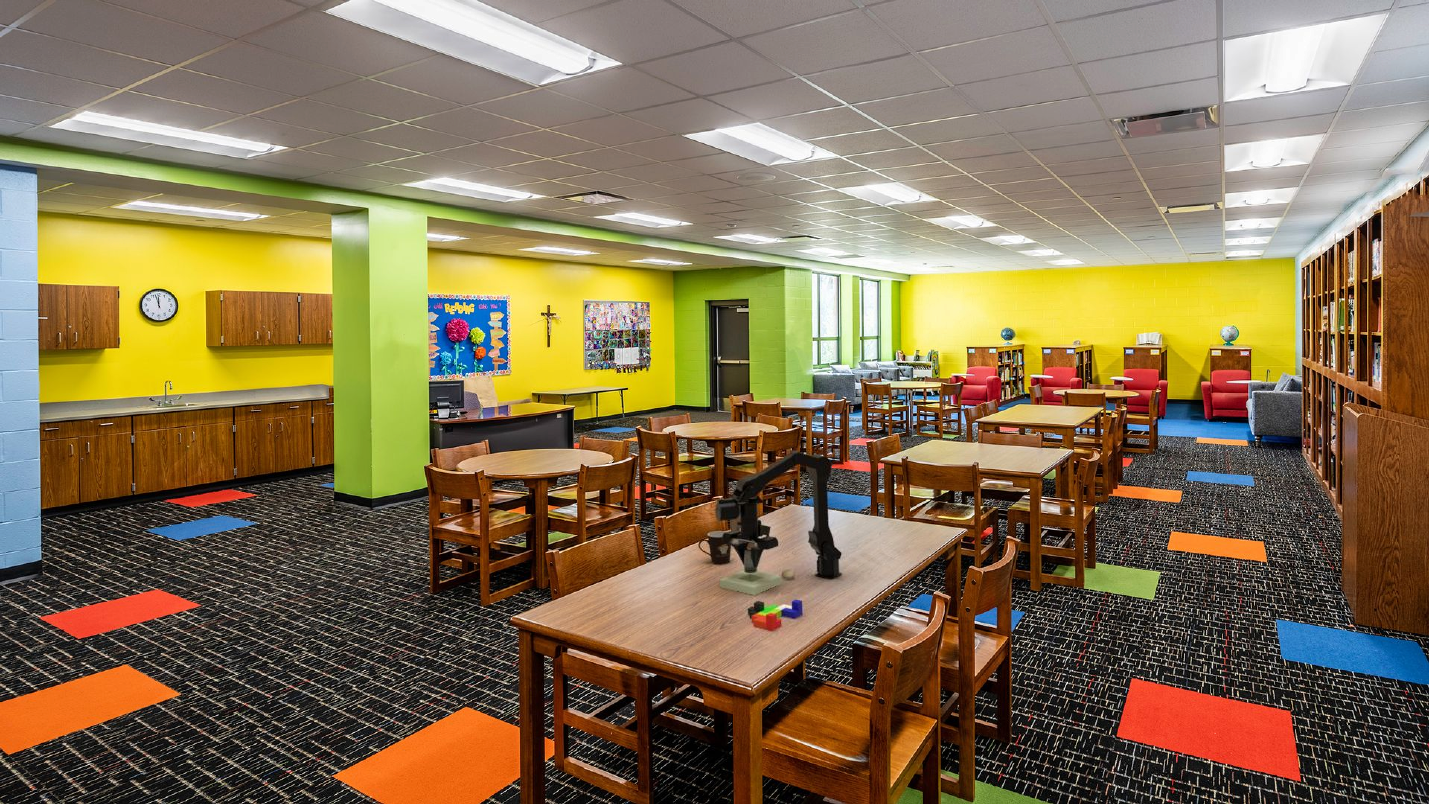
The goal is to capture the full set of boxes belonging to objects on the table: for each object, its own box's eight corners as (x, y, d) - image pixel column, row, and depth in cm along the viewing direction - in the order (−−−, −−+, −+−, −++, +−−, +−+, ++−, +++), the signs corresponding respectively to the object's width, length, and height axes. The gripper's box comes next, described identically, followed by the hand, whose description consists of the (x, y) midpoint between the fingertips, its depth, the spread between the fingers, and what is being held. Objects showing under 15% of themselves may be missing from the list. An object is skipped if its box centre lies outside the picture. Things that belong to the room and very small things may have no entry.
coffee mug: (733, 558, 279) (732, 531, 279) (732, 565, 271) (731, 537, 270) (701, 558, 281) (700, 531, 280) (698, 565, 272) (697, 537, 271)
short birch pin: (796, 578, 254) (796, 570, 254) (789, 581, 251) (789, 573, 251) (786, 576, 257) (786, 568, 256) (779, 579, 254) (779, 571, 253)
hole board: (782, 583, 248) (781, 576, 248) (754, 595, 237) (754, 587, 237) (747, 576, 257) (747, 569, 257) (719, 587, 247) (719, 579, 247)
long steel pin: (759, 570, 247) (758, 549, 247) (751, 573, 244) (750, 551, 244) (749, 568, 250) (749, 547, 249) (741, 571, 247) (741, 549, 246)
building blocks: (765, 607, 228) (764, 592, 227) (802, 615, 220) (802, 600, 219) (734, 622, 216) (733, 607, 216) (772, 632, 208) (772, 616, 208)
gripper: (788, 516, 246) (789, 565, 247) (742, 509, 258) (744, 556, 259) (766, 523, 237) (768, 573, 238) (720, 516, 250) (722, 564, 251)
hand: (750, 566), depth 247 cm, fingers closed on long steel pin, 4 cm apart
